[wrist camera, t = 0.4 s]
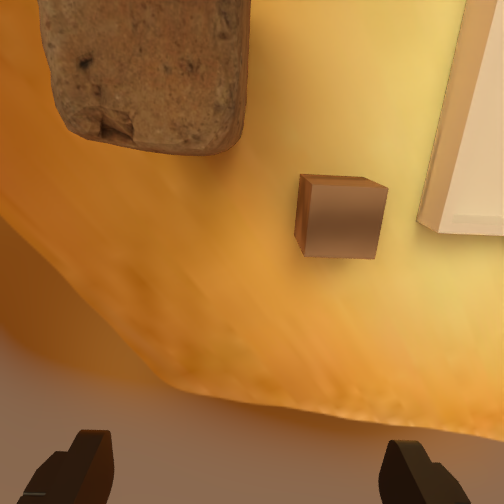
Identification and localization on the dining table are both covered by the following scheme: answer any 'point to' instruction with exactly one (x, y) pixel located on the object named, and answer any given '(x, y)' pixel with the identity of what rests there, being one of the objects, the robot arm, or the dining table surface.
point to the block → (150, 71)
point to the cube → (339, 216)
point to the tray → (470, 132)
